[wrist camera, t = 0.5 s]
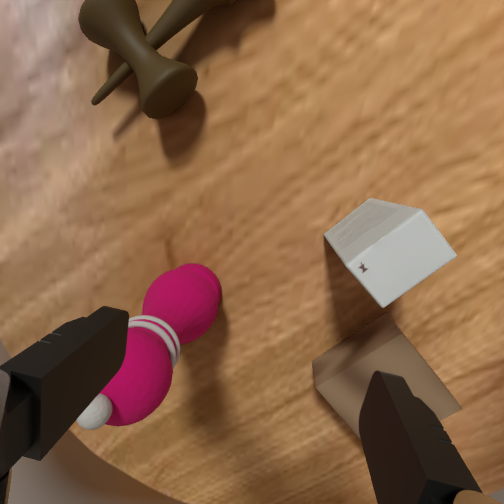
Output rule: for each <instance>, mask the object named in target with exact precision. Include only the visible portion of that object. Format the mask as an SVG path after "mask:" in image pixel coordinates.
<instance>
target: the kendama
mask: <svg viewBox="0 0 504 504" xmlns="http://www.w3.org/2000/svg"><path fill="white" fill-rule="evenodd" d="M233 3H234V0H173V1H172V2H171V4H170V5H169V6H168V8H167V9H166V11H165V12H164V13H163V15H162V16H161V17H160V19H159V20H158V21H157V23H156V24H155V25H154V27H153V28H152V29H151V30H150V32H149V33H148V34H147V35H146V37H145V35H144V32H143V30H142V26H141V21H140V16H139V11H138V6H137V4H136V1H135V0H85V2H84V3H83V5H82V6H81V9H80V13H79V17H78V20H79V24H80V28H81V30H82V32H83V33H84V34H85V36H86V37H87V38H88V39H89V40H90V41H92V42H94V43H96V44H98V45H100V46H102V47H104V48H107V49H109V50H112V51H114V52H116V53H117V54H119V55H120V56H121V57H122V58H123V59H124V60H125V61H124V62H123V63H122V65H121V66H120V67H119V68H118V69H117V70H116V71H115V72H114V74H113V75H112V76H111V77H110V78H109V79H108V80H107V82H106V83H105V84H104V85H103V86H102V87H101V88H100V90H99V91H98V92H97V93H96V94H95V96H94V97H93V99H92V101H91V102H92V104H93V105H97V104H99V103H100V102H101V101H102V100H104V99H105V98H106V97H107V96H108V95H109V94H110V93H111V92H112V91H113V90H114V89H116V88H117V87H118V86H119V85H120V84H121V83H122V82H123V81H124V80H125V79H126V78H127V77H128V76H129V75H130V74H131V73H132V72H133V71H134V72H135V74H136V77H137V80H138V84H139V90H140V100H141V107H142V111H143V112H144V113H145V114H146V115H147V116H148V117H149V118H153V119H158V118H162V117H166V116H168V115H170V114H171V113H173V112H175V111H176V110H177V109H178V108H180V107H181V106H182V105H183V104H184V103H185V102H186V101H187V100H188V98H189V97H190V96H191V94H192V93H193V91H194V90H195V88H196V85H197V80H198V76H197V73H196V71H195V69H193V68H192V67H190V66H189V65H187V64H185V63H182V62H179V61H175V60H172V59H168V58H166V57H163V56H161V55H160V54H159V53H158V52H157V51H156V50H157V49H159V48H160V47H161V46H162V45H163V44H164V43H166V42H167V41H168V40H169V39H170V38H172V37H173V36H174V35H175V34H177V33H178V32H179V31H180V30H182V29H183V28H184V27H186V26H187V25H188V24H190V23H191V22H192V21H194V20H195V19H196V18H198V17H199V16H201V15H202V14H204V13H205V12H207V11H208V10H210V9H211V8H213V7H215V6H217V5H221V4H224V5H228V6H231V5H233Z"/></svg>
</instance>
